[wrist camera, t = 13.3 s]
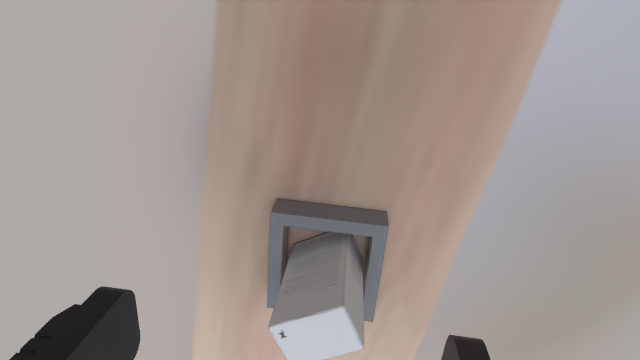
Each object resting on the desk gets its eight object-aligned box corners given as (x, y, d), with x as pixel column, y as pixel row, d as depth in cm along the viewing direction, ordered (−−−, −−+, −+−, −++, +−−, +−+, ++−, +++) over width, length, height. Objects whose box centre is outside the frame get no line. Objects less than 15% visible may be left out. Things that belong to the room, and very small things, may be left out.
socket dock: (277, 198, 38) (270, 212, 35) (386, 211, 37) (388, 226, 35) (273, 288, 42) (266, 307, 39) (372, 301, 41) (373, 321, 38)
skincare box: (310, 277, 41) (289, 371, 30) (292, 243, 40) (264, 327, 29) (365, 259, 40) (366, 351, 28) (349, 223, 38) (343, 304, 27)
